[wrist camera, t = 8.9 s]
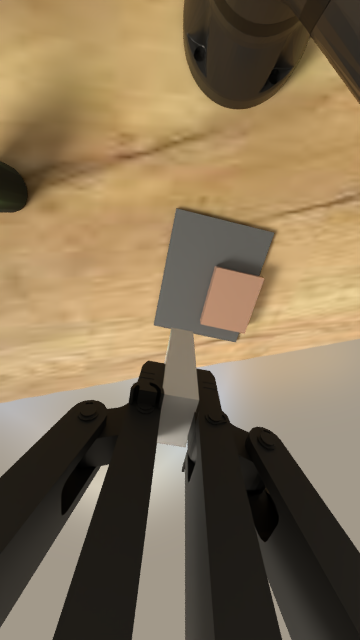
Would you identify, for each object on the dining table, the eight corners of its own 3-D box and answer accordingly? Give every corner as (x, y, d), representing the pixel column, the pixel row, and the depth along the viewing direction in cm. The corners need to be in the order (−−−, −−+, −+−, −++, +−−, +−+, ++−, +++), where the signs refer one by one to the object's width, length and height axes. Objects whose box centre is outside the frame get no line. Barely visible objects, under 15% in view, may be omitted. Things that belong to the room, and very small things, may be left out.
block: (216, 267, 34) (264, 278, 35) (214, 265, 36) (259, 276, 37) (200, 324, 38) (244, 333, 38) (199, 319, 40) (241, 328, 41)
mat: (176, 208, 34) (176, 208, 33) (273, 232, 35) (274, 232, 35) (154, 323, 41) (153, 325, 40) (234, 340, 42) (235, 342, 42)
